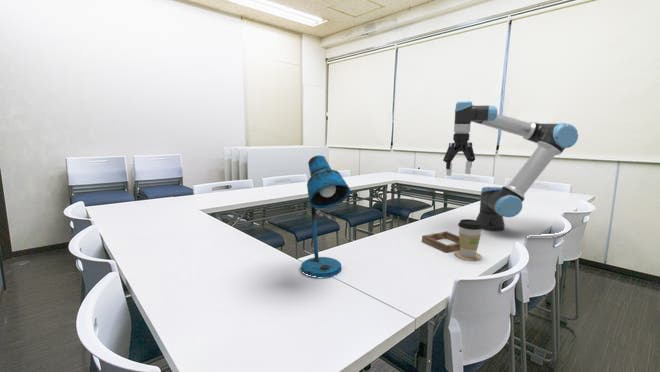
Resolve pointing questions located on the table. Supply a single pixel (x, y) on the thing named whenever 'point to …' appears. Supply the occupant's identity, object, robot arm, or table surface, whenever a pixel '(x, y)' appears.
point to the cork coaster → (468, 257)
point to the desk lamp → (323, 193)
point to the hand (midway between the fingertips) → (458, 174)
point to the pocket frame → (432, 241)
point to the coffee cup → (469, 237)
